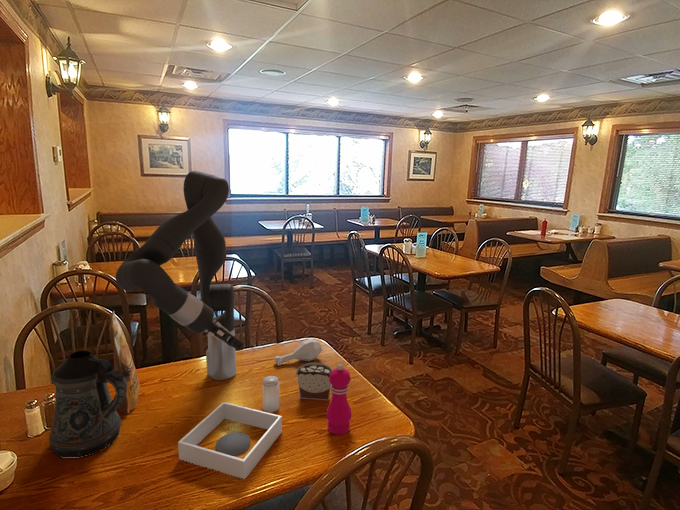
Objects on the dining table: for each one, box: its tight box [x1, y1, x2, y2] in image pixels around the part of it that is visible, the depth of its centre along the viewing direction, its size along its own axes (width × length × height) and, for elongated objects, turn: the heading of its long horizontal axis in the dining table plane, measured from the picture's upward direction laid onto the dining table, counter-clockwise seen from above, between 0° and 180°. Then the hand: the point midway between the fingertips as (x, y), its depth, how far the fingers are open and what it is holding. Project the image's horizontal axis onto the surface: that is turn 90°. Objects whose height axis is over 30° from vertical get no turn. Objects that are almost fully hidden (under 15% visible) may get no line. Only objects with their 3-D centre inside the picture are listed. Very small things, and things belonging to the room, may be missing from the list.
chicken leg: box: [273, 338, 323, 366], centre depth 156 cm, size 8×18×8 cm, turn 113°
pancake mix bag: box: [108, 310, 141, 414], centre depth 126 cm, size 7×19×28 cm, turn 20°
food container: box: [295, 362, 333, 401], centre depth 134 cm, size 12×6×10 cm, turn 84°
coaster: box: [215, 431, 251, 457], centre depth 110 cm, size 9×9×1 cm
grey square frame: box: [177, 401, 283, 480], centre depth 109 cm, size 19×19×5 cm
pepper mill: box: [325, 363, 352, 436], centre depth 116 cm, size 7×7×20 cm
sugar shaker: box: [261, 375, 280, 413], centre depth 126 cm, size 5×5×10 cm
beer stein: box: [48, 350, 127, 457], centre depth 109 cm, size 16×19×25 cm
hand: (233, 342), depth 114 cm, fingers open, 8 cm apart
